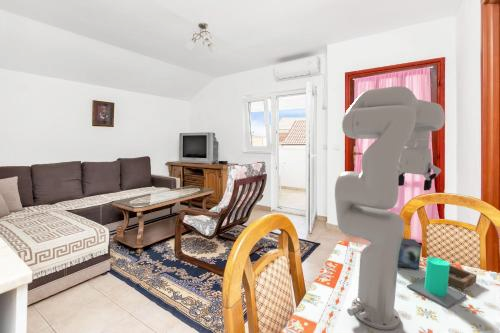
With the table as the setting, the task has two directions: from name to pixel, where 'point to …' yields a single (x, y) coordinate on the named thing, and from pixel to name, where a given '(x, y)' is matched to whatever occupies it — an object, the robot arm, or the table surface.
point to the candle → (437, 276)
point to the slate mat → (445, 301)
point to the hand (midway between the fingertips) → (413, 187)
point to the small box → (409, 254)
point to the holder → (466, 277)
